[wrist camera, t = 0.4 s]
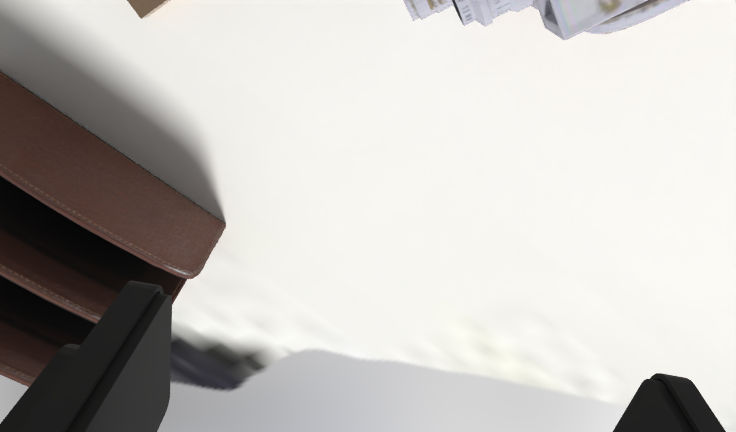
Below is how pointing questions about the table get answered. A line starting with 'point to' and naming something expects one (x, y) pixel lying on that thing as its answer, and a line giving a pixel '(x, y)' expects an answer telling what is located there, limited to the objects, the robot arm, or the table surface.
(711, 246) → the table surface
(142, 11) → the top hat
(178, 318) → the table surface
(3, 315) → the letter holder
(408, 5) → the cine camera
